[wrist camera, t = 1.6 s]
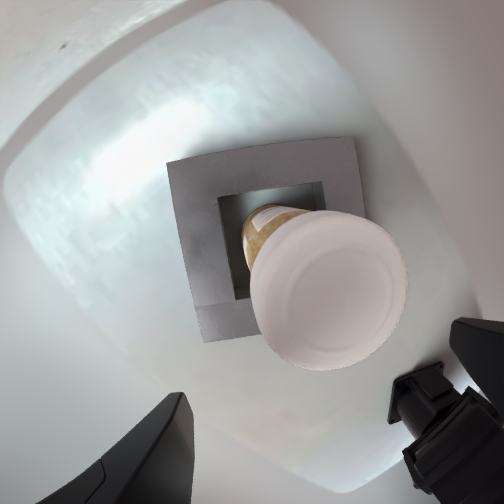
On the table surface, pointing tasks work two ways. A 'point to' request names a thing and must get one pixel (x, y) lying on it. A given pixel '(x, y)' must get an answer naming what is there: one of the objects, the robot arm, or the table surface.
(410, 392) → the robot arm
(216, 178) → the metal collar
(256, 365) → the table surface
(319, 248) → the sprinkles bottle
